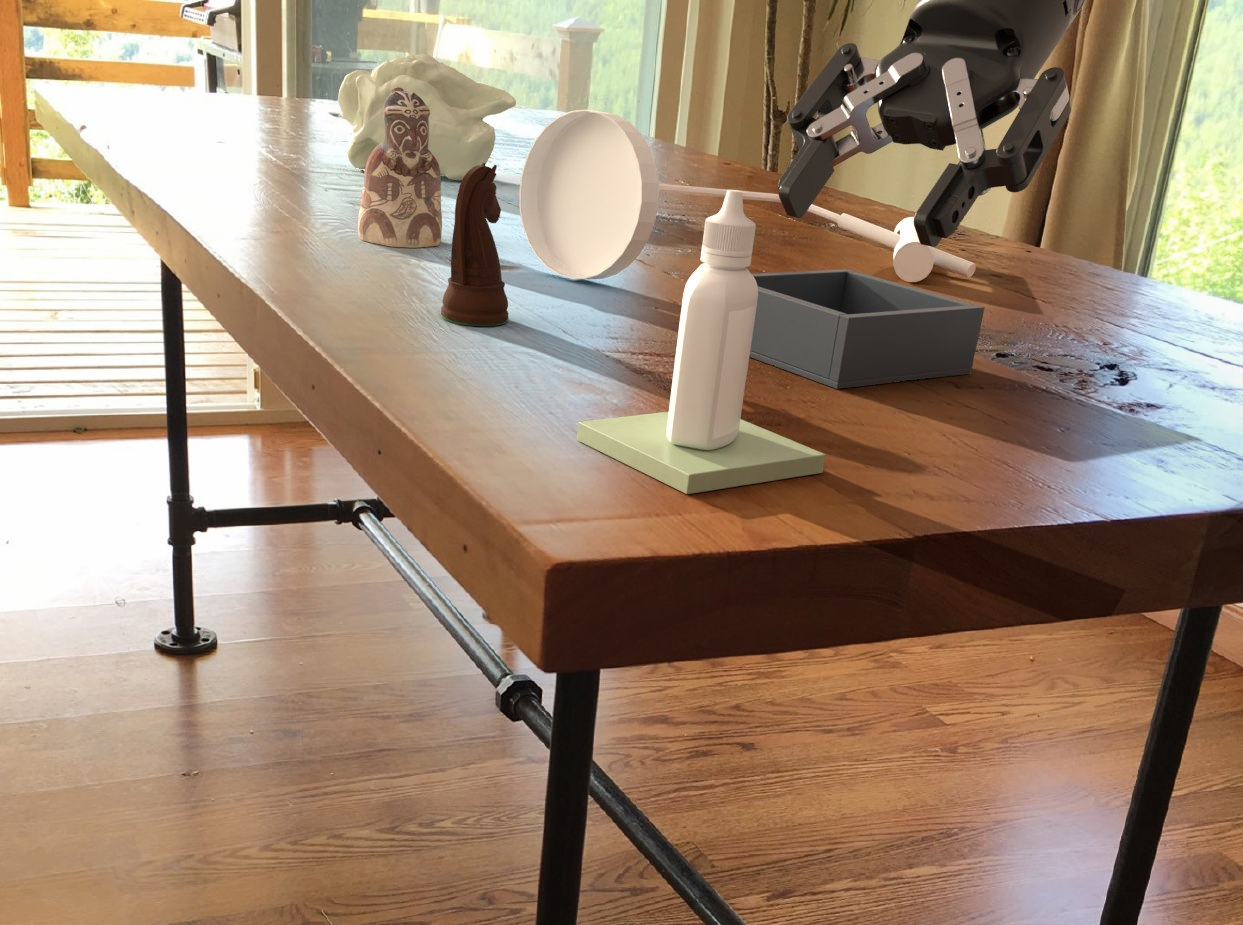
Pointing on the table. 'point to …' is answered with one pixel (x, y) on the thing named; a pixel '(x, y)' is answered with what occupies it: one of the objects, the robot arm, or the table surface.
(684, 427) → the eye dropper bottle
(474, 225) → the chess piece
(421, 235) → the figurine
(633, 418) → the pad
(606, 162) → the desk lamp
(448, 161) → the folded clay sculpture
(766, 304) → the bin
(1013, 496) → the table surface
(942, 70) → the robot arm
